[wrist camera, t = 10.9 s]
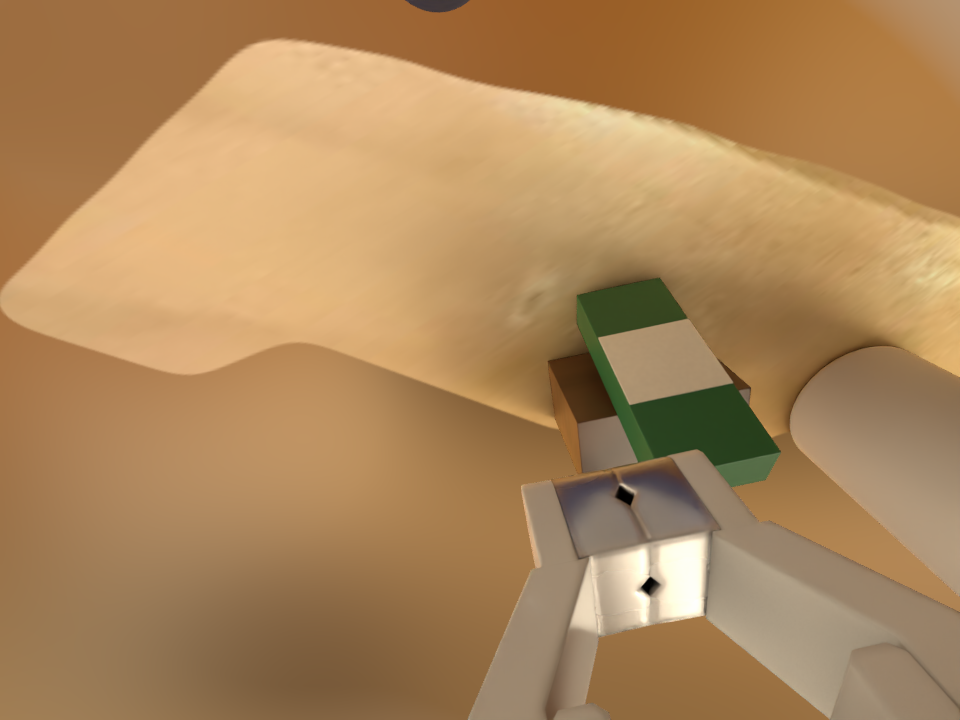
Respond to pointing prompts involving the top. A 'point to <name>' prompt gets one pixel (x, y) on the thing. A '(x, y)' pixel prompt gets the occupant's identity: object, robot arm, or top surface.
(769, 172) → the top surface
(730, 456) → the block
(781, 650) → the robot arm
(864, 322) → the top surface
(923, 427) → the cylinder vase
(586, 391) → the block
